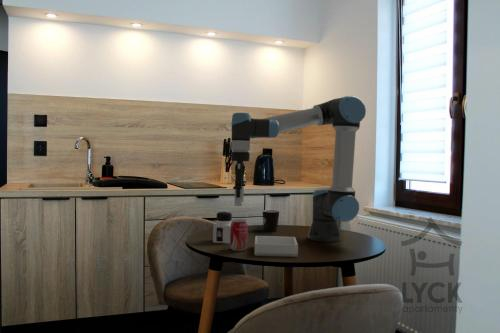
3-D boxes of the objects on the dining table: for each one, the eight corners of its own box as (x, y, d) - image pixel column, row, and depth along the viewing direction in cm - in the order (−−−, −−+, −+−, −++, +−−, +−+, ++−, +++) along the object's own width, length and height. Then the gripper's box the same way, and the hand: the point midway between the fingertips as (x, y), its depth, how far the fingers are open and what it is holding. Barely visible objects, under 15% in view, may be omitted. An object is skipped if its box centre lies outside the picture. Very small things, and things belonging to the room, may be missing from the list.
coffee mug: (279, 232, 227) (279, 212, 226) (262, 232, 227) (262, 212, 227) (278, 228, 238) (278, 209, 238) (261, 228, 239) (262, 209, 238)
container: (229, 243, 197) (230, 213, 196) (212, 242, 198) (213, 212, 198) (234, 240, 204) (234, 211, 204) (217, 239, 206) (218, 210, 206)
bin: (294, 247, 192) (295, 237, 192) (297, 256, 175) (297, 245, 175) (255, 246, 192) (255, 235, 192) (254, 255, 176) (254, 243, 176)
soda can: (230, 247, 189) (231, 218, 188) (247, 248, 189) (248, 219, 188) (229, 251, 182) (229, 221, 181) (246, 251, 182) (247, 221, 181)
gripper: (233, 151, 197) (232, 200, 197) (228, 151, 172) (227, 207, 172) (250, 151, 196) (249, 200, 197) (248, 151, 171) (246, 207, 172)
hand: (239, 203), depth 185 cm, fingers open, 13 cm apart
